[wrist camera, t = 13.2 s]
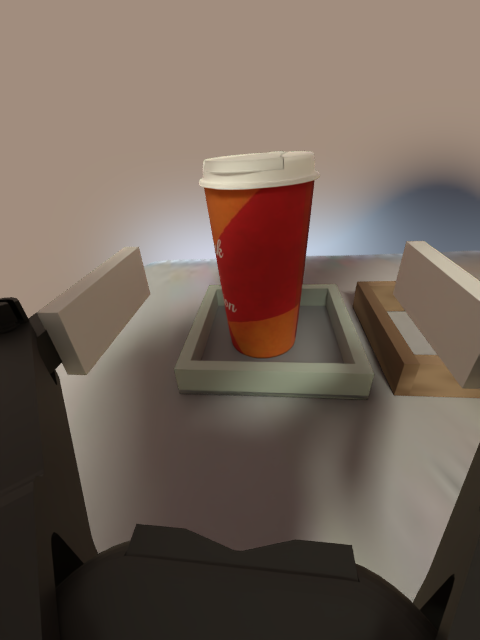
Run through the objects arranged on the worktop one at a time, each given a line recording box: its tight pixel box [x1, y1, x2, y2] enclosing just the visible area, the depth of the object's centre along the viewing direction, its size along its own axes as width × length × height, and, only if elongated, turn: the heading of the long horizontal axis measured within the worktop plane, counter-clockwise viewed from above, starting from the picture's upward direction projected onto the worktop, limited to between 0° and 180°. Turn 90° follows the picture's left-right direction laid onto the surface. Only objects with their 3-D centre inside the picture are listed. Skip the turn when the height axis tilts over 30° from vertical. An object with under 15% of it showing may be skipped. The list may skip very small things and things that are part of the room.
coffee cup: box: [199, 151, 320, 358], centre depth 23 cm, size 8×8×15 cm
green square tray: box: [174, 284, 374, 400], centre depth 27 cm, size 14×14×2 cm
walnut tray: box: [353, 280, 480, 398], centre depth 25 cm, size 13×13×3 cm
